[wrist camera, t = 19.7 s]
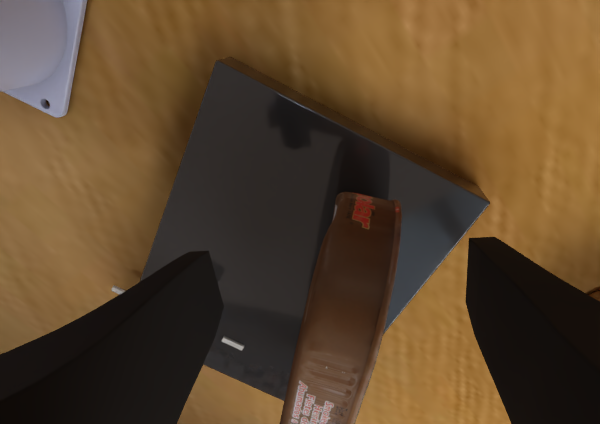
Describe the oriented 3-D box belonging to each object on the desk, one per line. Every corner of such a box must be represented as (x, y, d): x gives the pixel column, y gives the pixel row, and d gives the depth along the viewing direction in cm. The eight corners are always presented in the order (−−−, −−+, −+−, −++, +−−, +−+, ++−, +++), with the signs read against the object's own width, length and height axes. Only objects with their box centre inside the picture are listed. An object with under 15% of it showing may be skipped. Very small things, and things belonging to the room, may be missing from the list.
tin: (337, 390, 25) (326, 551, 17) (288, 379, 25) (257, 533, 17) (401, 171, 18) (429, 278, 10) (333, 158, 18) (314, 254, 11)
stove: (116, 313, 27) (97, 335, 25) (203, 42, 19) (186, 44, 17) (311, 402, 28) (308, 429, 27) (479, 186, 20) (492, 204, 18)
